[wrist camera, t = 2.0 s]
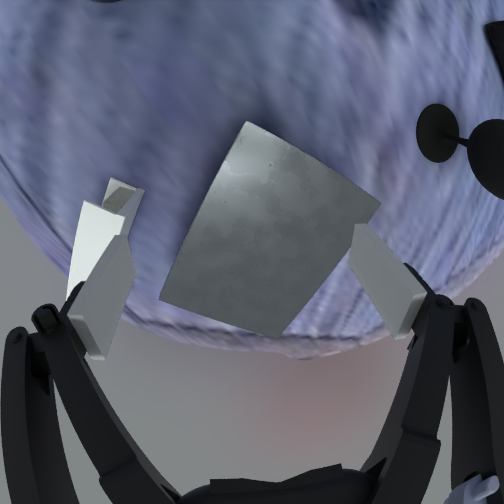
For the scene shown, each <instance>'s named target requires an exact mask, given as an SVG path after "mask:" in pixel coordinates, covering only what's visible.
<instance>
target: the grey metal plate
mask: <svg viewBox="0 0 504 504" xmlns="http://www.w3.org/2000/svg"><path fill="white" fill-rule="evenodd" d="M380 205H381V203H380V202H379V201H378V200H377V199H375V198H374V197H373V196H371V195H370V194H368V193H367V192H366V191H364V190H363V189H361V188H360V187H358V186H357V185H355V184H354V183H353V182H351V181H350V180H348V179H347V178H345V177H344V176H342V175H341V174H339V173H337V172H336V171H334V170H333V169H331V168H330V167H328V166H326V165H325V164H323V163H322V162H320V161H318V160H317V159H315V158H314V157H312V156H310V155H309V154H307V153H305V152H304V151H302V150H300V149H298V148H297V147H295V146H293V145H292V144H290V143H288V142H286V141H285V140H283V139H281V138H279V137H277V136H276V135H274V134H272V133H270V132H268V131H266V130H264V129H263V128H261V127H259V126H257V125H255V124H253V123H251V122H249V121H247V120H245V121H244V123H243V125H242V127H241V129H240V130H239V132H238V134H237V136H236V137H235V139H234V141H233V143H232V145H231V147H230V148H229V150H228V152H227V154H226V156H225V158H224V160H223V162H222V163H221V165H220V167H219V169H218V171H217V173H216V175H215V177H214V179H213V181H212V183H211V185H210V187H209V189H208V191H207V193H206V195H205V197H204V199H203V201H202V203H201V205H200V207H199V209H198V211H197V213H196V215H195V217H194V219H193V221H192V223H191V225H190V227H189V230H188V232H187V234H186V236H185V238H184V240H183V243H182V245H181V247H180V249H179V251H178V253H177V256H176V258H175V260H174V262H173V265H172V267H171V269H170V272H169V274H168V276H167V278H166V281H165V283H164V286H163V288H162V290H161V293H160V296H159V300H161V301H163V302H166V303H169V304H171V305H174V306H177V307H180V308H182V309H185V310H188V311H191V312H194V313H196V314H199V315H202V316H205V317H208V318H211V319H214V320H217V321H220V322H223V323H226V324H230V325H233V326H236V327H239V328H242V329H246V330H249V331H252V332H255V333H259V334H262V335H266V336H269V337H273V338H276V339H277V338H278V337H279V336H280V335H281V334H282V333H283V331H284V330H285V329H286V328H287V327H288V326H289V324H290V323H291V322H292V321H293V320H294V318H295V317H296V316H297V315H298V314H299V312H300V311H301V310H302V309H303V308H304V306H305V305H306V304H307V303H308V301H309V300H310V299H311V298H312V296H313V295H314V294H315V293H316V291H317V290H318V289H319V288H320V286H321V285H322V284H323V283H324V281H325V280H326V279H327V277H328V276H329V275H330V274H331V272H332V271H333V270H334V268H335V267H336V266H337V264H338V263H339V262H340V261H341V259H342V258H343V257H344V255H345V254H346V252H347V251H348V250H349V248H350V247H351V244H352V239H353V233H354V227H355V224H362V223H366V224H367V223H368V222H369V221H370V219H371V218H372V216H373V215H374V213H375V212H376V210H377V209H378V208H379V206H380Z"/></svg>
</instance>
